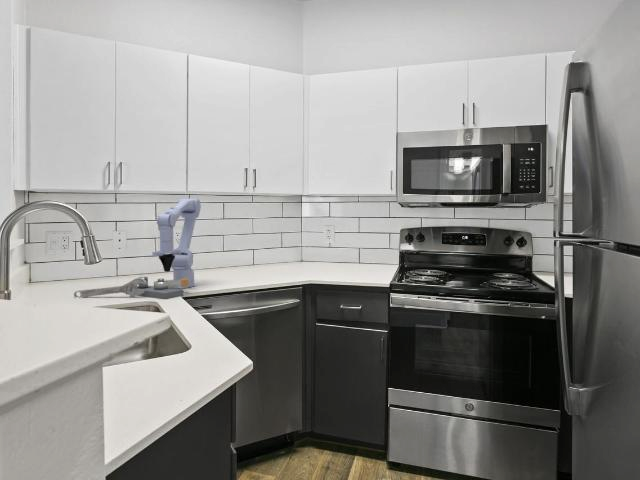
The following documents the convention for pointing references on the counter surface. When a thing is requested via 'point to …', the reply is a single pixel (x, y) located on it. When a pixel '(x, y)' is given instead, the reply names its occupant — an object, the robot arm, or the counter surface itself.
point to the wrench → (115, 289)
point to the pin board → (161, 292)
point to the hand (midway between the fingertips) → (167, 271)
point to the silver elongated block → (170, 283)
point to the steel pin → (143, 286)
